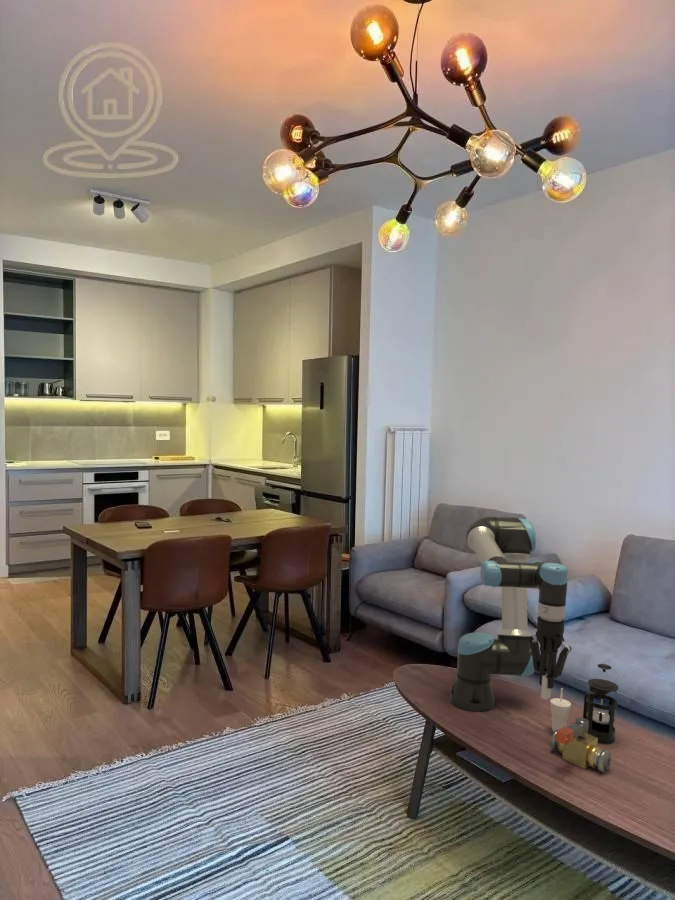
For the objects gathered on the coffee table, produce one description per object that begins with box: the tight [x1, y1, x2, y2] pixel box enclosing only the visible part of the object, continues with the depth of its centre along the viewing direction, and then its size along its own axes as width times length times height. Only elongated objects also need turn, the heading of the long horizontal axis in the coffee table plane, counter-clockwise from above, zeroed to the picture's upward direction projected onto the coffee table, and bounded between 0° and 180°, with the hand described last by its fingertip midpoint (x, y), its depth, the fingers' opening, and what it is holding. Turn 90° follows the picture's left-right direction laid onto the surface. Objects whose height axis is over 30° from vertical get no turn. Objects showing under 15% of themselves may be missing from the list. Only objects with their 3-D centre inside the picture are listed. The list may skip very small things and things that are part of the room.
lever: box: [556, 717, 589, 745], centre depth 193 cm, size 13×4×3 cm, turn 132°
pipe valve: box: [549, 729, 612, 774], centre depth 196 cm, size 16×6×9 cm, turn 42°
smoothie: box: [549, 687, 572, 733], centre depth 213 cm, size 6×6×14 cm
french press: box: [582, 663, 619, 745], centre depth 212 cm, size 12×9×23 cm
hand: (545, 697), depth 195 cm, fingers closed
